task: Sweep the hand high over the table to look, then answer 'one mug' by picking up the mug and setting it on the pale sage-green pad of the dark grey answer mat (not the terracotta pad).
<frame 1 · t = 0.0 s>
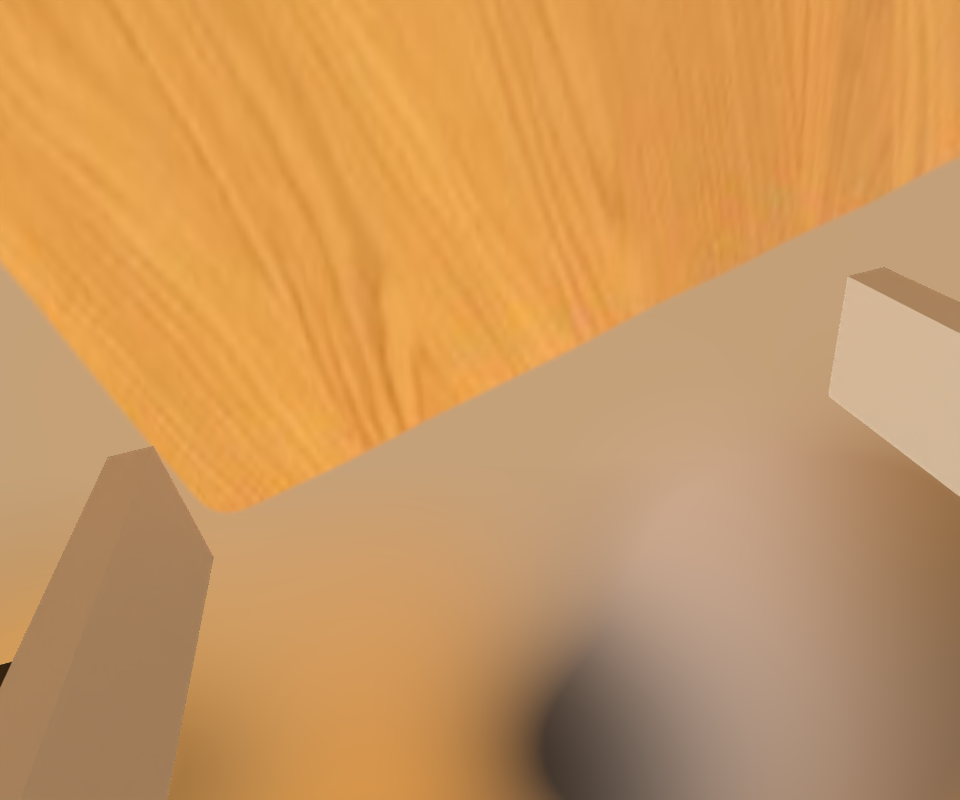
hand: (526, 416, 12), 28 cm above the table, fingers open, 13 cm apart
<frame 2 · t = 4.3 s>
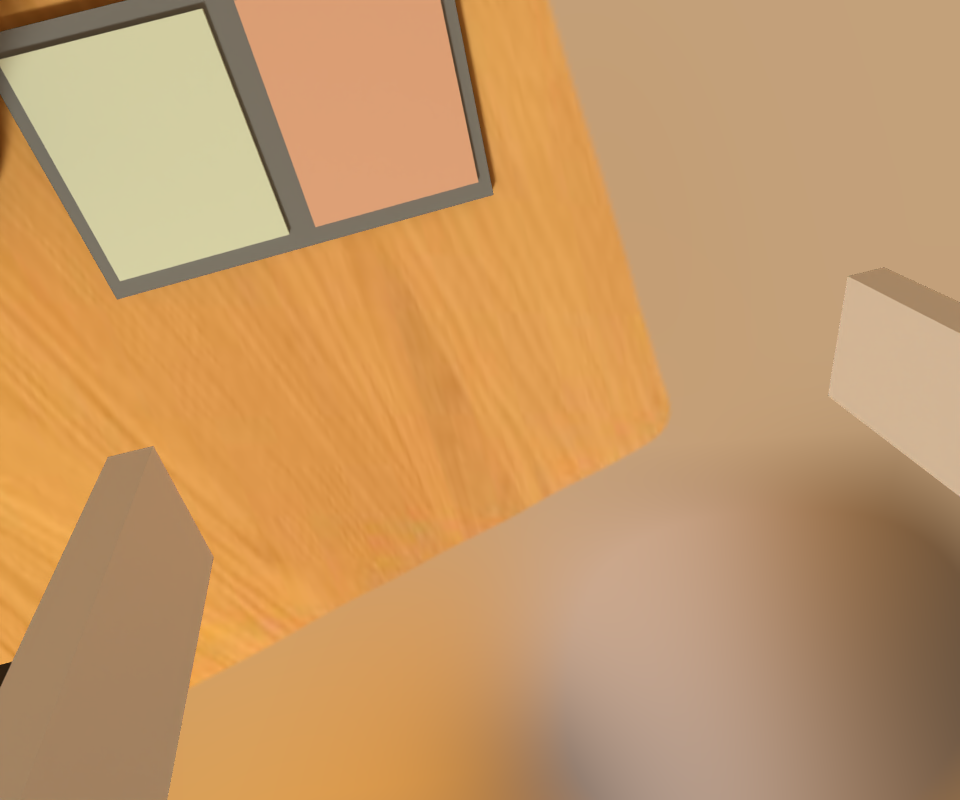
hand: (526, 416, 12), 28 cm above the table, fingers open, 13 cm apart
answer mat: (265, 125, 34), on the table
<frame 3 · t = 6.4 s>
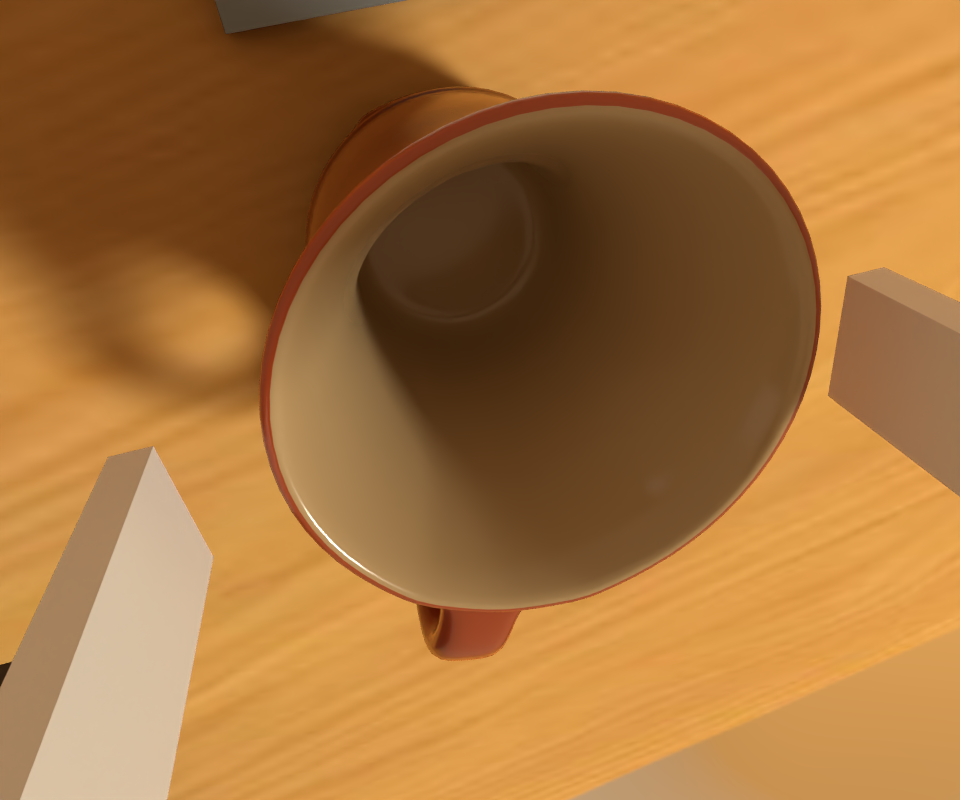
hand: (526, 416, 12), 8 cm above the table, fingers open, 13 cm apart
mug: (432, 276, 19), on the table
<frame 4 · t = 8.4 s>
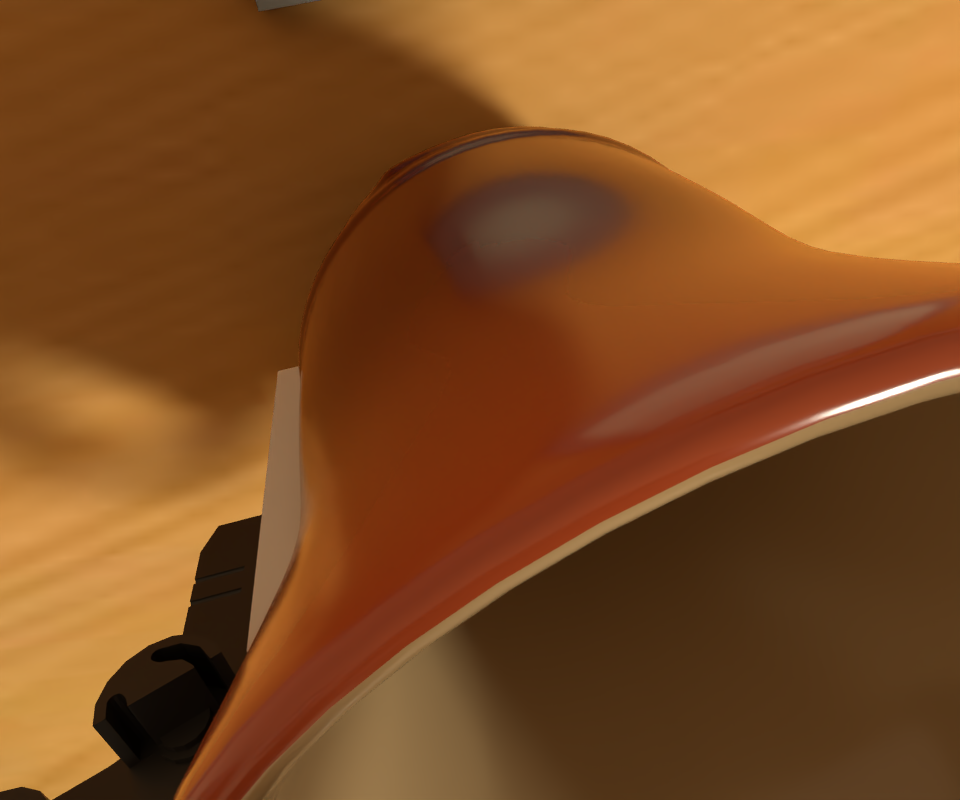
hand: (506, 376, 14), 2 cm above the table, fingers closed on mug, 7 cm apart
mug: (478, 374, 14), point 1 cm above the table, touching gripper
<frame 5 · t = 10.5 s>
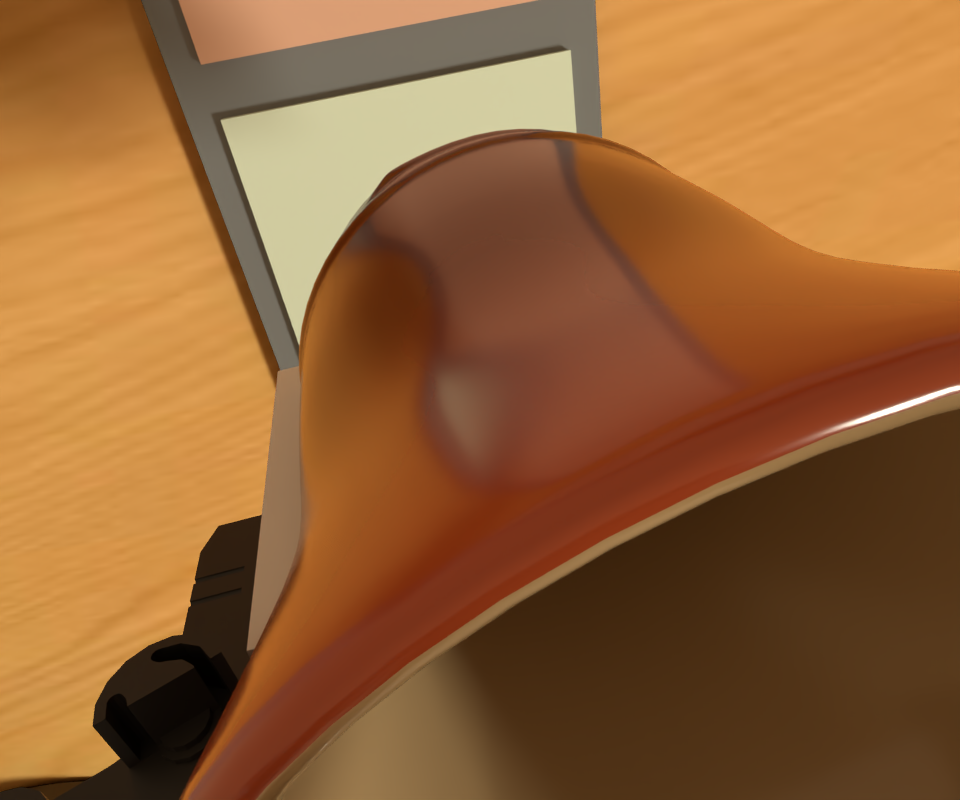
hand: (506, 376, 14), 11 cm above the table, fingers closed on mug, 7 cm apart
answer mat: (391, 55, 20), on the table
mug: (478, 376, 14), point 11 cm above the table, touching gripper
when the fingers open (2 cm above the table, at t = 12.4 s): mug stays where it is, resting on answer mat.
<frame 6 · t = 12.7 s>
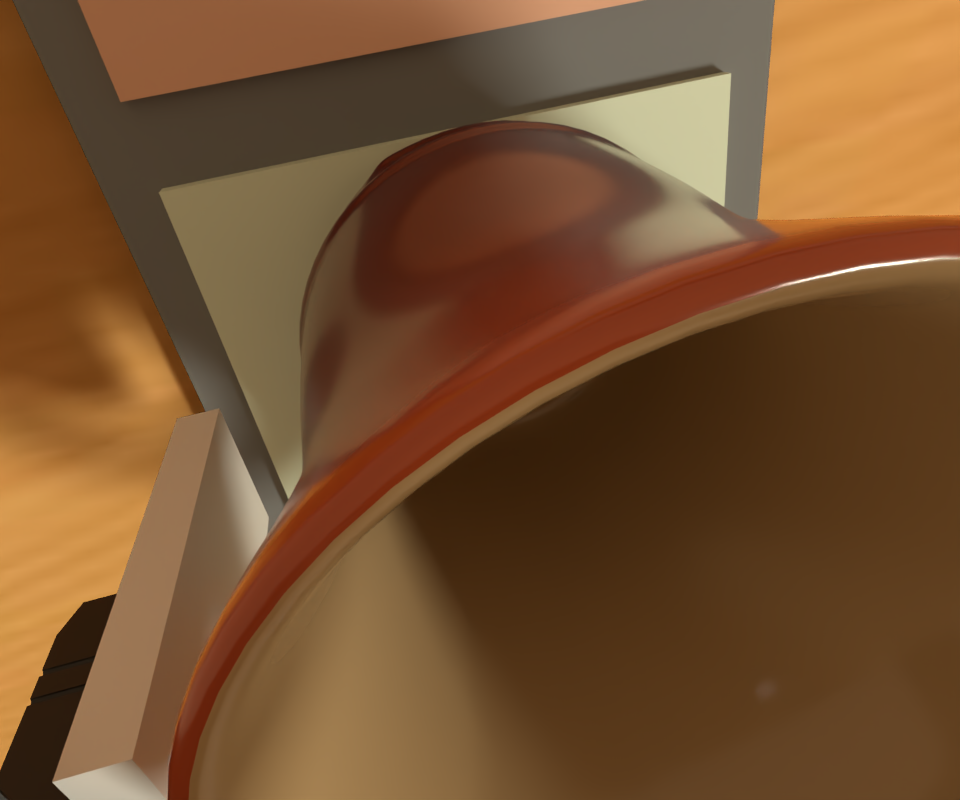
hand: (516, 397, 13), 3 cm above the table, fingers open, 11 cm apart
answer mat: (442, 81, 12), on the table
mug: (468, 357, 15), point 1 cm above the table, touching answer mat
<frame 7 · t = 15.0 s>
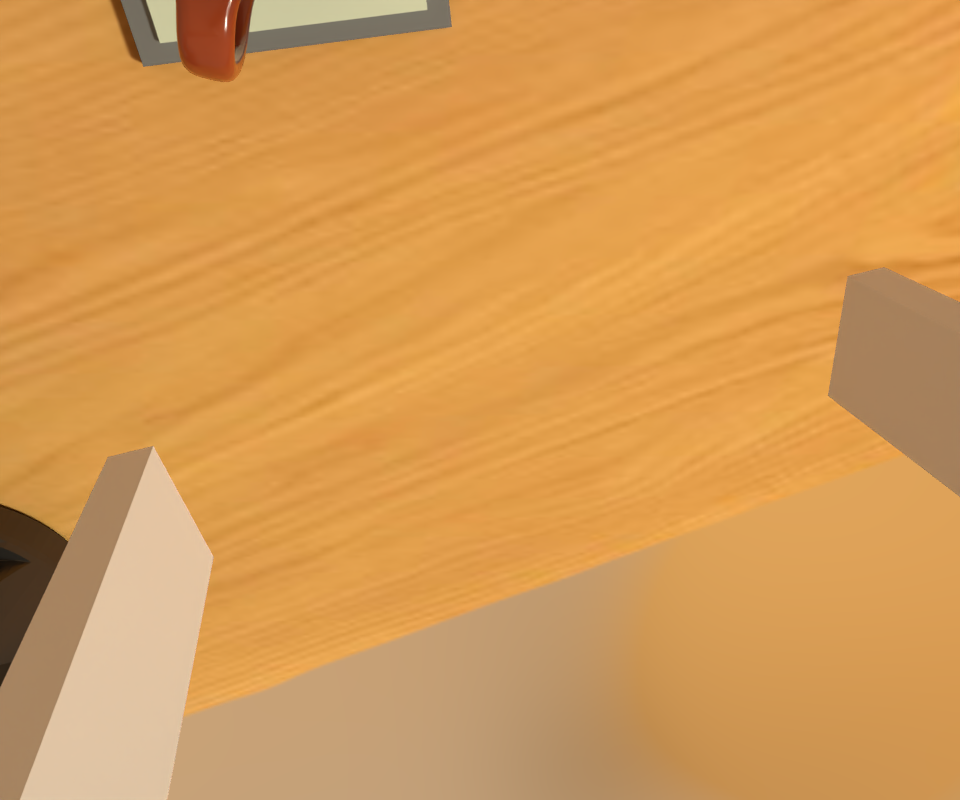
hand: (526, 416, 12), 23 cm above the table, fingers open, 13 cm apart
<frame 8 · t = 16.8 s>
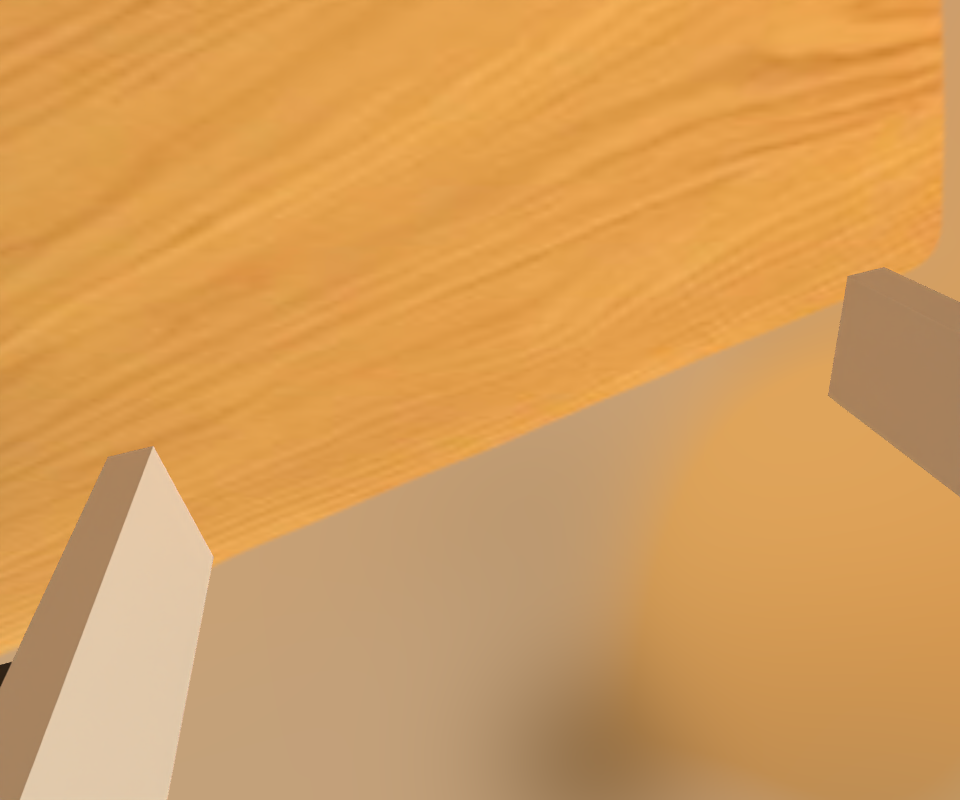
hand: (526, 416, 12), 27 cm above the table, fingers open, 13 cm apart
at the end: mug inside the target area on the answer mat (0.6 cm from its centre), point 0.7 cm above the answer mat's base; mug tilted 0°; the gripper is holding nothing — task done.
